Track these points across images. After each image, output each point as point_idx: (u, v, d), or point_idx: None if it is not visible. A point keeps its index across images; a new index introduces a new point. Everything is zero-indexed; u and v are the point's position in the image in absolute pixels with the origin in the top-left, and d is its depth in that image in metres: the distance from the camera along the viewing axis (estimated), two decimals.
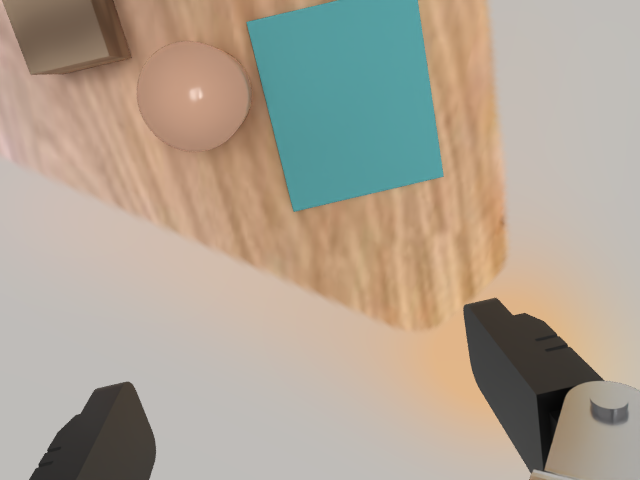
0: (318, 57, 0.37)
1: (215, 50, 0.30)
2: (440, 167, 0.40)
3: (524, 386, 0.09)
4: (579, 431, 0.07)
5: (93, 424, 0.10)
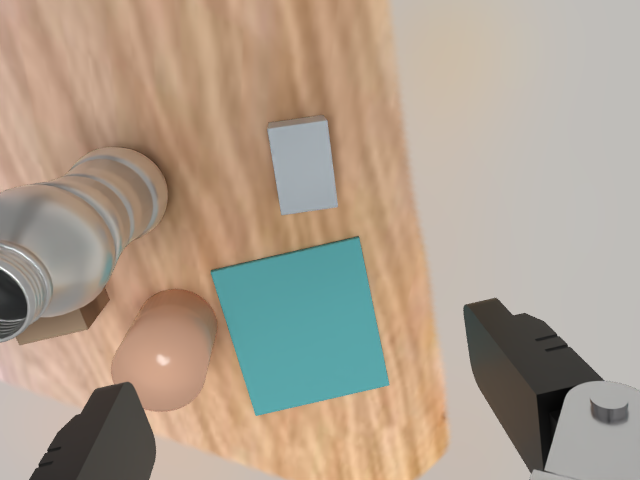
0: (274, 297, 0.42)
1: (178, 337, 0.35)
2: (386, 378, 0.45)
3: (523, 386, 0.09)
4: (579, 431, 0.07)
5: (93, 424, 0.10)
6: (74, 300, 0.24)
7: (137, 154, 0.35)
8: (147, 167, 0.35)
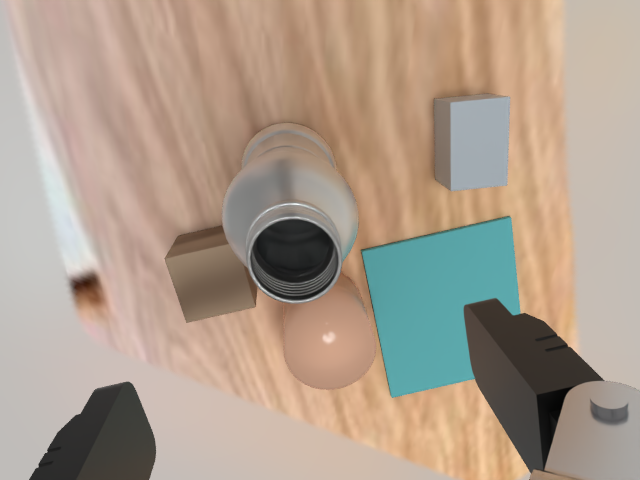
0: (422, 277, 0.42)
1: (353, 314, 0.35)
2: None
3: (523, 386, 0.09)
4: (579, 431, 0.07)
5: (93, 424, 0.10)
6: None
7: (312, 130, 0.35)
8: (324, 143, 0.35)
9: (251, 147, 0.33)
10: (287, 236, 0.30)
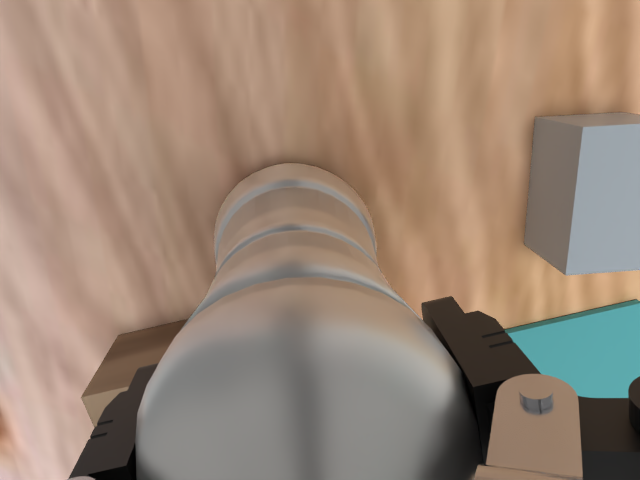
0: None
1: None
2: None
3: None
4: (505, 420, 0.08)
5: (141, 398, 0.11)
6: None
7: (335, 176, 0.20)
8: (357, 199, 0.20)
9: (229, 210, 0.19)
10: None
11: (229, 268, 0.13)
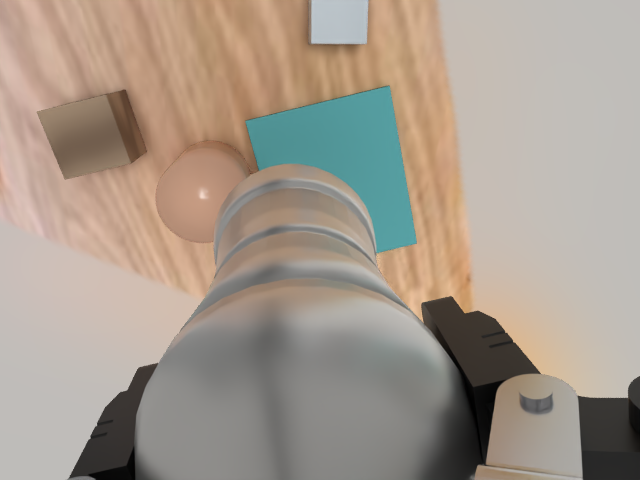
0: (307, 148, 0.43)
1: (220, 163, 0.36)
2: (414, 235, 0.46)
3: (464, 379, 0.09)
4: (505, 420, 0.08)
5: None
6: None
7: (335, 176, 0.20)
8: (357, 199, 0.20)
9: (229, 211, 0.19)
10: None
11: (228, 269, 0.13)
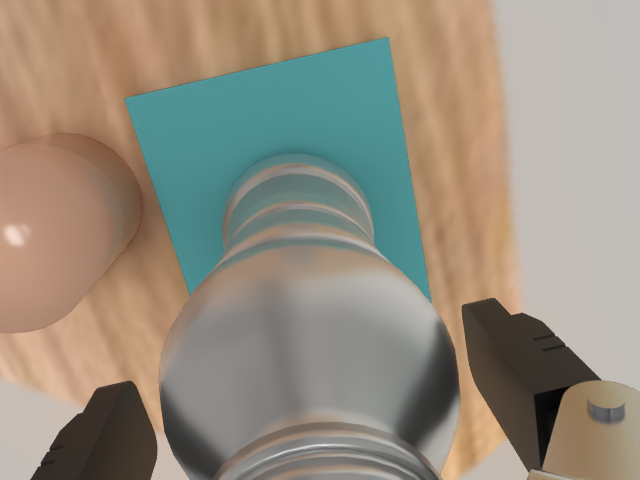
0: (239, 149, 0.24)
1: (31, 175, 0.17)
2: None
3: (521, 385, 0.09)
4: (576, 430, 0.07)
5: (95, 423, 0.10)
6: None
7: (336, 165, 0.22)
8: (356, 187, 0.21)
9: (237, 195, 0.20)
10: None
11: (239, 239, 0.14)
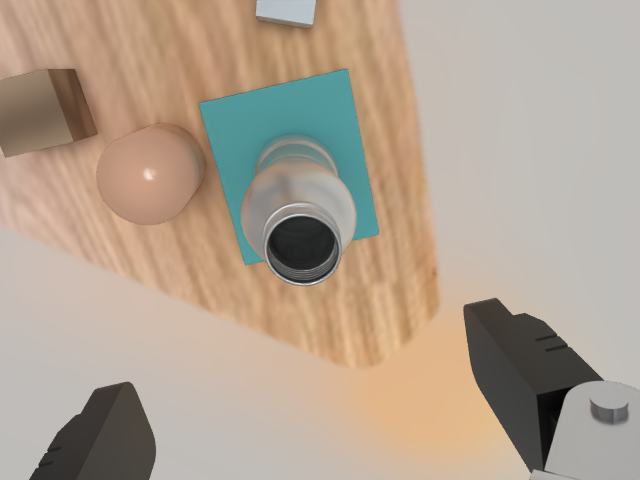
0: (263, 133, 0.42)
1: (164, 141, 0.35)
2: (376, 226, 0.45)
3: (524, 386, 0.09)
4: (579, 431, 0.07)
5: (93, 424, 0.10)
6: None
7: (317, 140, 0.40)
8: (328, 152, 0.39)
9: (263, 155, 0.38)
10: (295, 233, 0.34)
11: None
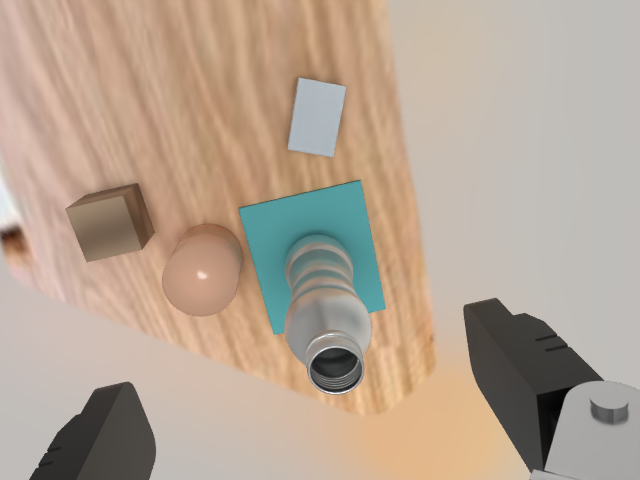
0: (290, 231, 0.51)
1: (216, 253, 0.44)
2: (383, 302, 0.54)
3: (524, 386, 0.09)
4: (579, 431, 0.07)
5: (93, 424, 0.10)
6: None
7: (336, 241, 0.48)
8: (345, 252, 0.48)
9: (293, 257, 0.47)
10: None
11: (302, 282, 0.41)
